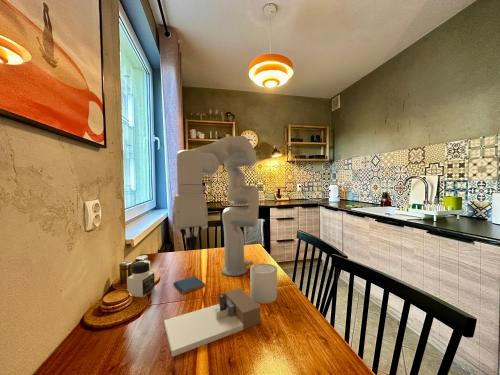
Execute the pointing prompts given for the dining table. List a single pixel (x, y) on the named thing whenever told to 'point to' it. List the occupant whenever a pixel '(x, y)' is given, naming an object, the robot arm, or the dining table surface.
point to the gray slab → (211, 323)
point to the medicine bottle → (140, 280)
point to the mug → (263, 283)
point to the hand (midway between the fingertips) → (191, 248)
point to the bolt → (222, 307)
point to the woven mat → (188, 284)
